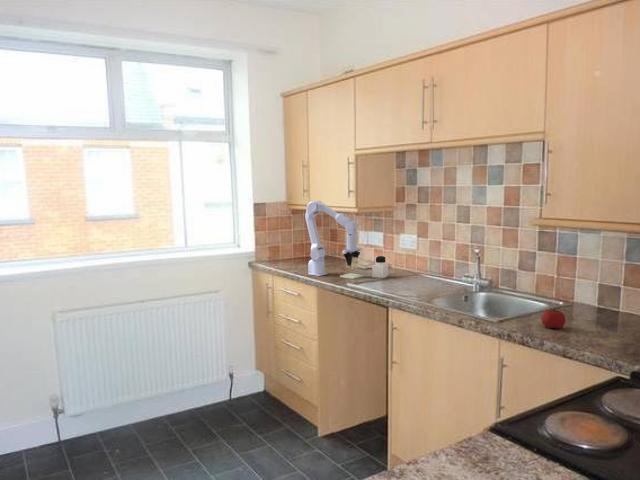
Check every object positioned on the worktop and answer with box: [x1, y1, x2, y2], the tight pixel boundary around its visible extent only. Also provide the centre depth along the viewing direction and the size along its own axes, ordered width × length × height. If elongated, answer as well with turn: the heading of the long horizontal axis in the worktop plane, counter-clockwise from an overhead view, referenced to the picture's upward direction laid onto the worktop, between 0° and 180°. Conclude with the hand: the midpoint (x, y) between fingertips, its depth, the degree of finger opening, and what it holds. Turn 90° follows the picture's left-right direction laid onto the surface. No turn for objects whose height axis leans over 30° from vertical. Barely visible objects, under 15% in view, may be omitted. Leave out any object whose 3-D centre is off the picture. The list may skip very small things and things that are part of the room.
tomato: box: [540, 308, 566, 330], centre depth 185 cm, size 8×8×7 cm
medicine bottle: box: [371, 255, 389, 279], centre depth 290 cm, size 7×7×12 cm
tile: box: [339, 273, 365, 280], centre depth 292 cm, size 10×10×1 cm
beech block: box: [346, 257, 359, 270], centre depth 291 cm, size 4×4×6 cm
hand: (351, 264), depth 291 cm, fingers closed on beech block, 4 cm apart
